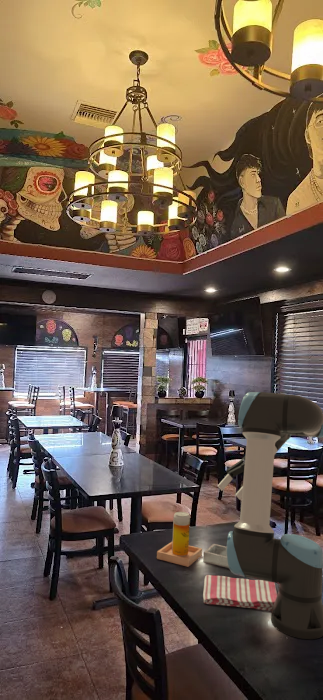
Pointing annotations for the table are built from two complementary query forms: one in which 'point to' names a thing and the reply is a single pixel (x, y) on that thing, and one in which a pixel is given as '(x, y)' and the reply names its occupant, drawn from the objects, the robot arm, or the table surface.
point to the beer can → (180, 534)
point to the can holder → (216, 555)
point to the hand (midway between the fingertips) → (228, 492)
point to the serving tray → (185, 561)
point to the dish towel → (239, 592)
